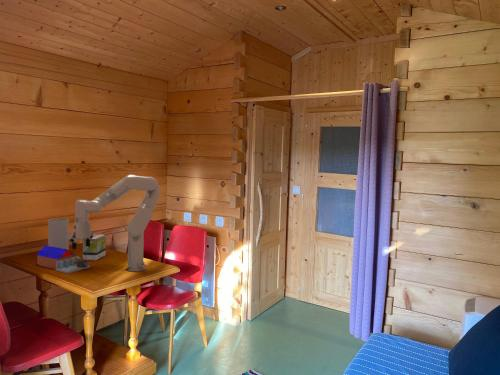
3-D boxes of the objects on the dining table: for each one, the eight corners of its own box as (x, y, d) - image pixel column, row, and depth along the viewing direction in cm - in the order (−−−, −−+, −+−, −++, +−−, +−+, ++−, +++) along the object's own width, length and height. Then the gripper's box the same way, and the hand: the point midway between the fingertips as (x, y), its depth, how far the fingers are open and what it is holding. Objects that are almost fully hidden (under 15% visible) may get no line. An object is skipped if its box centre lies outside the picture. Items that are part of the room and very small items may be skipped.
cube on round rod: (89, 266, 241) (89, 260, 241) (84, 268, 237) (84, 261, 237) (78, 264, 246) (78, 258, 246) (72, 265, 242) (72, 259, 242)
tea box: (97, 260, 260) (97, 238, 259) (82, 260, 261) (82, 238, 260) (106, 255, 275) (106, 234, 274) (91, 254, 276) (91, 233, 275)
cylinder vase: (48, 254, 273) (48, 218, 272) (67, 252, 279) (67, 217, 277) (48, 258, 262) (48, 221, 261) (69, 256, 268) (69, 220, 266)
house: (53, 261, 256) (53, 243, 255) (75, 265, 247) (75, 247, 246) (36, 265, 245) (36, 247, 244) (58, 270, 236) (58, 251, 236)
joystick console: (90, 267, 244) (90, 258, 243) (67, 273, 230) (67, 264, 229) (78, 264, 249) (78, 256, 248) (55, 270, 235) (55, 261, 234)
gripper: (73, 222, 230) (72, 251, 231) (97, 219, 245) (96, 246, 246) (65, 220, 233) (64, 249, 234) (89, 217, 249) (88, 244, 250)
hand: (81, 247), depth 240 cm, fingers open, 9 cm apart
